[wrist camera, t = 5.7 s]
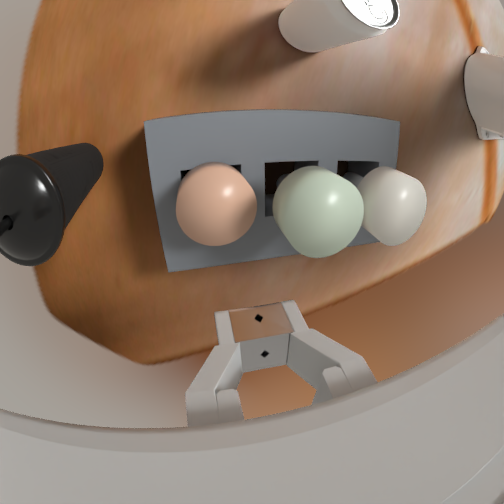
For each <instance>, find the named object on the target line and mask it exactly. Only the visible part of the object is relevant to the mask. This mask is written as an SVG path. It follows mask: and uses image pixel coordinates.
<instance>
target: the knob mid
mask: <svg viewBox="0 0 504 504" xmlns="http://www.w3.org/2000/svg"><path fill="white" fill-rule="evenodd" d="M276 186H277V190H276V192H275V195H274V199H273V206H272V208H273V216H274V219H275V222H276V223H277V225H278V227H279V228H280V229H281V231H282V232H283V234H284V235H285V237H286V238H287V239H288V241H289V242H290V244H291V245H292V246H293V248H294V249H295V250H296V251H298V252H299V253H300V254H302V255H304V256H307V257H312V258H323V257H328V256H331V255H333V254H336V253H338V252H339V251H341V250H342V249H344V248H345V247H346V246H347V245H348V244H349V243H350V242H351V241H352V240H353V239H354V237H355V236H356V235H357V233H358V231H359V229H360V227H361V224H362V221H363V216H364V204H363V199H362V196H361V194H360V192H359V191H358V189H357V188H356V187H355V186H354V185H353V184H352V183H351V182H349V181H348V180H346V179H344V178H342V177H340V176H339V175H337V174H335V173H333V172H331V171H329V170H328V169H326V168H323V167H319V166H306V167H302V168H300V169H297V170H295V171H293V172H292V173H290V174H283V175H281V176H280V177H279V178H278V180H277V183H276Z"/></svg>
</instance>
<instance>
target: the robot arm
mask: <svg viewBox="0 0 504 504" xmlns="http://www.w3.org/2000/svg"><path fill="white" fill-rule="evenodd" d="M464 82H465V93H466V98H467V103H468V107H469V110H470V112H471V115H472V117H473V119H474V121H475V123H476V127H477V132H478V136H479V138H480V139H482V140H490V139H504V57H502V56H498V55H492V54H489V53H488V51H487V50H486V49H485V48H484V47H481V46H478V48H477V50H476V53H475V54H473V55H471V56H470V57H469V59H468V60H467V63H466V67H465V75H464ZM214 316H215V323H216V330H217V337H218V343H219V345H218V346H214V348H213V350H212V351H211V353H210V355H209V356H208V358H207V359H206V361H205V363H204V364H203V366H202V368H201V369H200V371H199V372H198V374H197V376H196V377H195V379H194V380H193V382H192V383H191V385H190V387H189V388H188V390H187V391H186V393H185V396H186V410H187V421H188V427H177V428H147V429H146V428H135V429H134V428H110V427H96V426H85V425H77V424H69V423H62V422H56V421H50V420H45V419H40V418H35V417H30V416H26V415H21V414H18V413H14V412H10V411H7V410H3V409H0V504H504V314H502V315H500V316H499V317H498V318H496V319H495V320H493V321H492V322H490V323H489V324H488V325H486V326H485V327H483V328H482V329H480V330H479V331H477V332H476V333H474V334H472V335H471V336H469V337H468V338H466V339H465V340H463V341H461V342H459V343H458V344H456V345H454V346H453V347H451V348H449V349H447V350H445V351H444V352H442V353H440V354H438V355H436V356H435V357H432V358H431V359H429V360H427V361H425V362H423V363H421V364H419V365H417V366H415V367H413V368H410V369H408V370H406V371H404V372H402V373H399V374H397V375H395V376H393V377H390V378H388V379H385V380H383V381H381V382H377V381H376V379H375V377H374V375H373V374H372V372H371V370H370V368H369V367H368V365H367V363H366V362H365V360H364V358H363V357H362V356H360V355H358V354H357V353H355V352H353V351H351V350H349V349H348V348H346V347H344V346H342V345H341V344H339V343H337V342H335V341H334V340H331V339H330V338H328V337H327V336H325V335H323V334H321V333H319V332H318V331H316V330H314V329H309V328H308V326H307V324H306V323H305V320H304V318H303V316H302V314H301V312H300V310H299V308H298V306H297V304H296V302H295V301H294V300H288V301H283V302H278V303H272V304H266V305H261V306H255V307H248V308H240V309H232V310H226V311H217V312H214ZM286 364H287V366H288V367H289V368H290V369H292V370H293V371H294V372H295V373H296V374H298V375H299V376H300V377H301V378H303V379H304V380H305V381H306V382H308V383H309V384H310V385H311V386H313V387H314V388H315V389H316V390H317V391H316V394H315V396H314V399H313V402H312V405H310V406H306V407H302V408H298V409H295V410H291V411H286V412H282V413H277V414H273V415H268V416H263V417H258V418H253V419H247V420H244V416H243V412H242V408H241V404H240V400H239V395H238V391H236V389H237V386H238V384H239V381H240V379H241V377H242V374H243V373H244V372H249V371H254V370H259V369H264V368H270V367H275V366H280V365H286Z"/></svg>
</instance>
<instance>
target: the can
mask: <svg viewBox="0 0 504 504" xmlns="http://www.w3.org/2000/svg"><path fill="white" fill-rule="evenodd" d="M398 19H399V5H398V2H397V0H294V1H293V2H292V3H290V4H289V5H288V6H287V7H286V8H285V9H284V10H283V11H282V12H281V14H280V16H279V22H278V23H279V29H280V32H281V34H282V36H283V37H284V38H285V40H286V41H287V42H288V43H289V44H291V45H292V46H293V47H295V48H297V49H299V50H302V51H305V52H320V51H324V50H327V49H331V48H334V47H337V46H341V45H344V44H348V43H352V42H356V41H360V40H364V39H368V38H372V37H376V36H379V35H381V34H383V33H384V32H386V31H387V30H388V29H389V28H392V27H393V26H394V25H395V24H396V23H397V22H398Z"/></svg>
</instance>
